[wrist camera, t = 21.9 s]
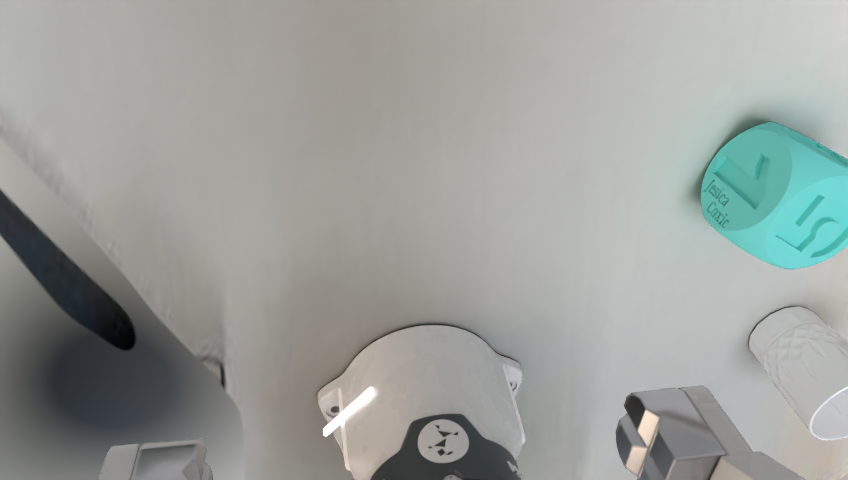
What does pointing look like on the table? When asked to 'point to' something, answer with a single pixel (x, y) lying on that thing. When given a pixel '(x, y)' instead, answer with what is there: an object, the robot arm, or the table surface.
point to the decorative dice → (778, 196)
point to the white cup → (806, 368)
